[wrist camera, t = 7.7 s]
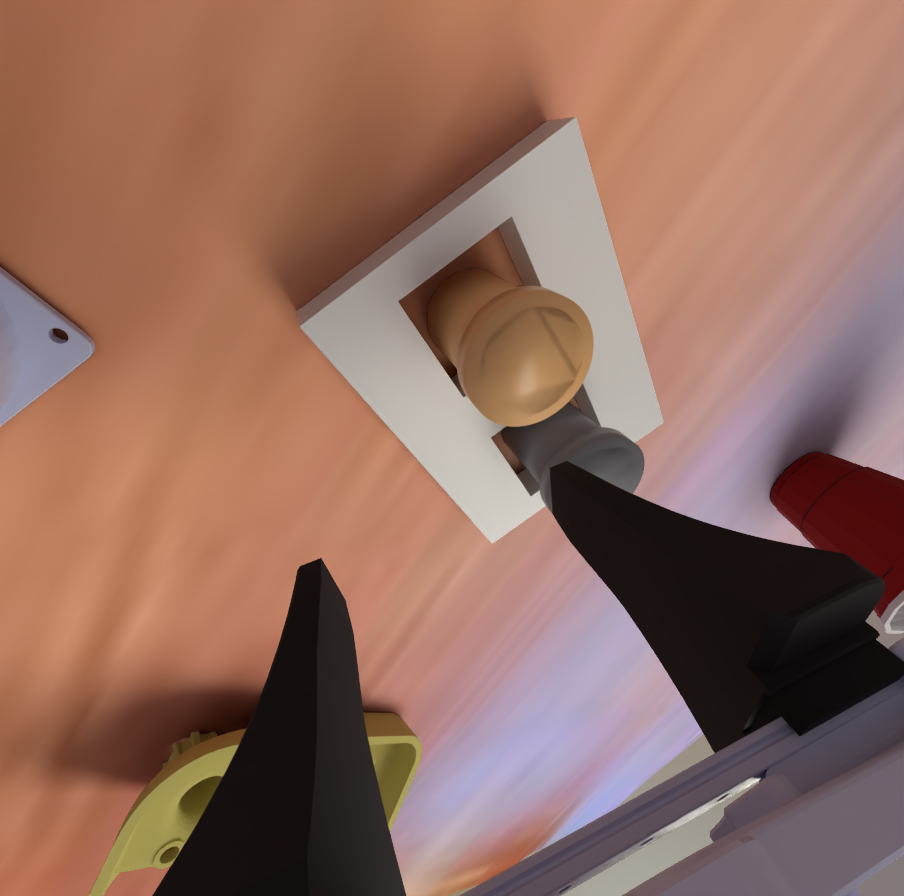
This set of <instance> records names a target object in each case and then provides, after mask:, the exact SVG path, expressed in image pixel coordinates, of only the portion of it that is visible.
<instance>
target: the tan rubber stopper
mask: <svg viewBox="0 0 904 896" xmlns="http://www.w3.org/2000/svg"><path fill="white" fill-rule="evenodd" d="M427 326H428V330H429V333H430V336H431V338H432V340H433V342H434V343H435V345H436V346H437V347H438V348H439V349H440V350H441V351H442V353H443V354H444V355H445V356H446V357H447V358H448V359H449V360H450V362H451V363H452V364H453V365H454V366H455V367H456V368H457V373H458V379H459V382H460V385H461V387H462V389H463V391H464V393H465V394H466V396H467V397H468V398H469V400H470V401H471V402H472V403H473V404H474V406H475V407H476V408H477V409H478V410H479V412H480V413H481V414H482V415H483V416H485V417H486V418H488V419H489V420H491V421H493V422H495V423H497V424H500V425H504V426H510V427H519V426H527V425H531V424H534V423H537V422H540V421H542V420H544V419H546V418H548V417H550V416H551V415H553V414H555V413H556V412H557V411H559V410H560V409H561V408H562V407H563V406H565V405H566V404H567V403H568V402H569V401H570V400H571V398H572V397H573V396H574V395H575V394H576V392H577V391H578V390H579V388H580V386H581V385H582V383H583V381H584V379H585V377H586V375H587V373H588V370H589V368H590V365H591V361H592V356H593V348H594V340H593V332H592V328H591V324H590V322H589V319H588V317H587V316H586V314H585V312H584V311H583V310H582V309H581V308H580V306H579V305H577V304H576V303H575V302H574V301H572V300H570V299H569V298H567V297H565V296H563V295H560V294H558V293H556V292H554V291H552V290H550V289H547V288H544V287H539V286H522V287H516V286H515V285H513V284H511V283H509V282H507V281H505V280H503V279H501V278H499V277H497V276H495V275H493V274H491V273H489V272H487V271H484V270H480V269H466V270H462V271H459V272H457V273H454V274H453V275H451V276H449V277H448V278H447V279H446V280H444V281H443V282H442V283H441V284H440V285H439V287H438V288H437V289H436V291H435V293H434V294H433V296H432V298H431V301H430V304H429V307H428V312H427Z"/></svg>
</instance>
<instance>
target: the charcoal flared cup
mask: <svg viewBox="0 0 904 896" xmlns="http://www.w3.org/2000/svg"><path fill="white" fill-rule="evenodd" d="M502 437H503V440H504V442H505V443H506V444H507V446H508V447H509V448H510V449H511V450H512V452H513V453H514V454H515V455H516V456H517V458H518V459H519V460H520V461H521V463H522V464H523V465H524V466H525V467H526V469H527V470H528V471H529V472H530V473H531V475H532V476H533V477H534V478H535V479H536V481H537V482H538V483H539V484H540V495H541V499H542V500H543V502H544V504H545V505H546V506H547V507H548V509H549V510H550V511H551V512H552V498H551V482H550V467H553V466H555V465H558V464H560V463H563V462H565V461H568V462H570V463H572V464H574V465H576V466H578V467H580V468H582V469H584V470H586V471H588V472H590V473H592V474H593V475H595V476H597V477H599V478H601V479H603V480H605V481H607V482H609V483H611V484H613V485H615V486H617V487H619V488H621V489H623V490H625V491H627V492H629V493H631V494H633V492H634V491H635V489H636V488H637V486H638V484H639V482H640V480H641V477H642V474H643V470H644V456H643V453H642V451H641V449H640V448H639V446H638V445H636V444H635V443H634V442H633V441H631V440H630V439H629V438H628V437H626V436H625V435H624V434H622V433H621V432H620V431H618V430H616V429H613V428H607V427H599V426H598V425H597V424H596V423H594V422H593V421H592V420H591V419H589V418H588V417H587V416H586V415H585V414H583V413H582V412H581V411H580V410H578V409H577V408H576V407H575V406H573V405H572V404H571V403H570V402H568V403H567V404H566V405H565V406H563V407H562V408H561V409H560V410H559V411H557V412H556V413H555V414H553V415H551V416H550V417H548V418H546V419H544V420H542V421H540V422H537V423H534V424H531V425H527V426H519V427H510V426H506V427H505V428H503V429H502ZM552 514H553V513H552Z"/></svg>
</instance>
